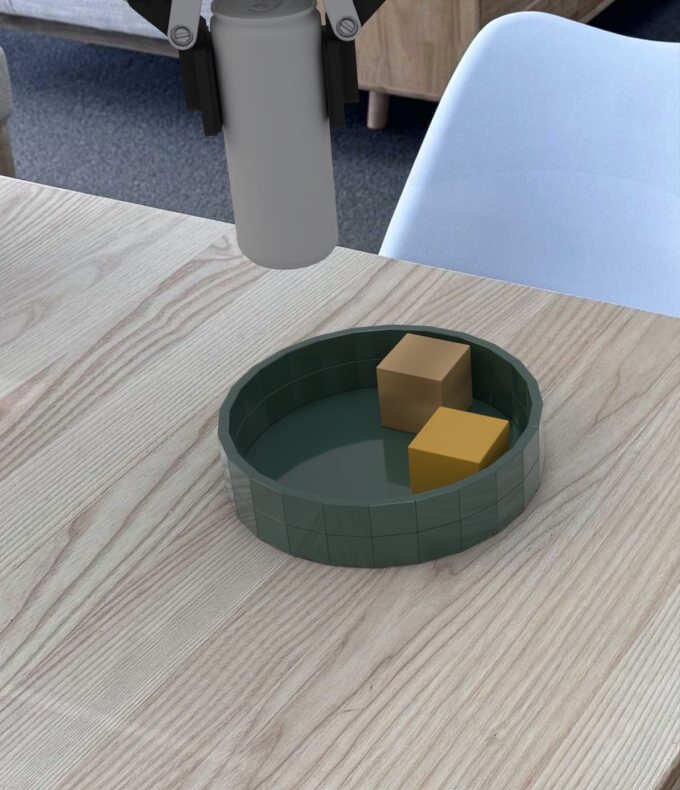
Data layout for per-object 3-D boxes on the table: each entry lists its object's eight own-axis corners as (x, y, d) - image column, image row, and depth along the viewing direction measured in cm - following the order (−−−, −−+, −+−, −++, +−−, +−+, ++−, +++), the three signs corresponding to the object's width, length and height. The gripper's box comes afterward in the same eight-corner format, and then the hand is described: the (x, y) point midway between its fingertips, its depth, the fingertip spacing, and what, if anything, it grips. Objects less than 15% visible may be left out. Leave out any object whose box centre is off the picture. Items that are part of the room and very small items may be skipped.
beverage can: (222, 268, 65) (187, 15, 59) (262, 222, 69) (234, -19, 63) (319, 279, 64) (295, 24, 58) (354, 233, 68) (336, -12, 62)
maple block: (381, 426, 80) (375, 367, 78) (411, 390, 83) (407, 332, 81) (444, 440, 79) (441, 380, 76) (473, 403, 82) (470, 345, 80)
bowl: (166, 531, 73) (152, 462, 71) (323, 367, 87) (316, 303, 84) (467, 610, 68) (463, 537, 65) (586, 421, 81) (586, 355, 79)
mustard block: (412, 508, 74) (407, 446, 71) (443, 466, 77) (439, 405, 74) (482, 525, 72) (479, 462, 70) (511, 481, 75) (509, 420, 73)
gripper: (441, -348, 57) (454, 79, 67) (12, -337, 55) (92, 100, 65) (460, -324, 51) (472, 142, 61) (-22, -312, 49) (73, 167, 59)
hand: (275, 116), depth 63 cm, fingers closed on beverage can, 4 cm apart
